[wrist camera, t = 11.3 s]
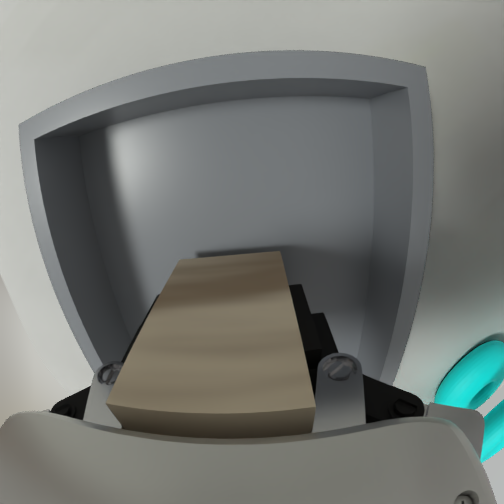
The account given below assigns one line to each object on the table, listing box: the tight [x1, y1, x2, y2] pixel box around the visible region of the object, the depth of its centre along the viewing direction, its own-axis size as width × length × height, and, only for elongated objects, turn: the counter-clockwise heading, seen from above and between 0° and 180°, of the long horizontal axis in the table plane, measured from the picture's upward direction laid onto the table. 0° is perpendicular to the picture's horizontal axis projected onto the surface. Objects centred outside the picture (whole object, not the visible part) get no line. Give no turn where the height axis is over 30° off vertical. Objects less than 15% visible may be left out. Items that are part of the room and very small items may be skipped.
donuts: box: [434, 340, 504, 463], centre depth 15 cm, size 10×10×10 cm
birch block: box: [106, 251, 316, 439], centre depth 9 cm, size 4×4×8 cm
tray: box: [19, 50, 434, 386], centre depth 13 cm, size 20×16×4 cm
